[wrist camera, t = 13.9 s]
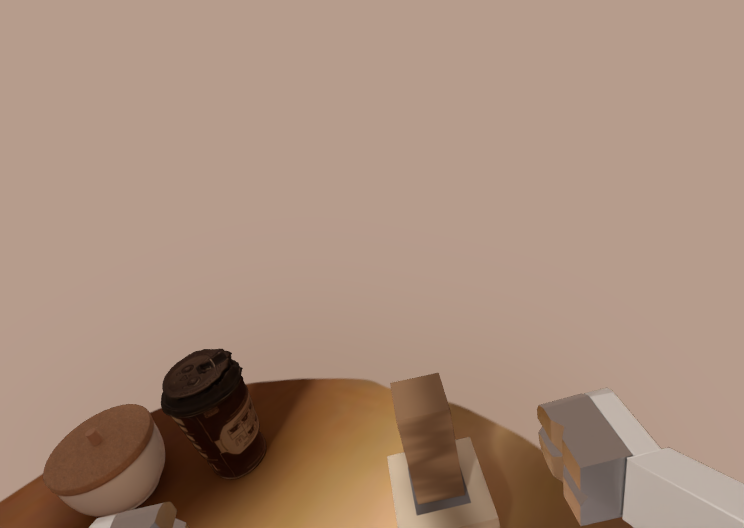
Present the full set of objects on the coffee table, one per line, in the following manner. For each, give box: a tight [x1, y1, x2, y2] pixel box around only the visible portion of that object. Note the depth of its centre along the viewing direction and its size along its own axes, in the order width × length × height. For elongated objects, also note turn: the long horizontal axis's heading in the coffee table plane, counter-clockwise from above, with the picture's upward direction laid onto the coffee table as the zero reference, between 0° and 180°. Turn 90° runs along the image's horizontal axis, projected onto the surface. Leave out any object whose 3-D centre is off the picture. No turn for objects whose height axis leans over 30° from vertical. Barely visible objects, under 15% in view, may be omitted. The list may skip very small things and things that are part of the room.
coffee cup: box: [161, 349, 266, 479], centre depth 49 cm, size 9×8×13 cm
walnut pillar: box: [391, 373, 465, 505], centre depth 37 cm, size 4×4×10 cm
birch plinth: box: [387, 437, 500, 528], centre depth 40 cm, size 8×8×4 cm
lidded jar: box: [43, 404, 165, 517], centre depth 49 cm, size 11×11×9 cm
